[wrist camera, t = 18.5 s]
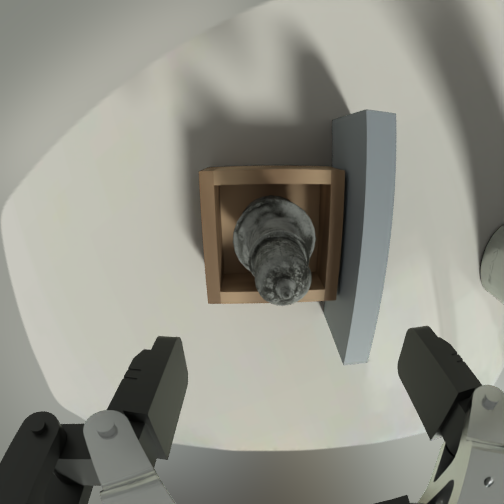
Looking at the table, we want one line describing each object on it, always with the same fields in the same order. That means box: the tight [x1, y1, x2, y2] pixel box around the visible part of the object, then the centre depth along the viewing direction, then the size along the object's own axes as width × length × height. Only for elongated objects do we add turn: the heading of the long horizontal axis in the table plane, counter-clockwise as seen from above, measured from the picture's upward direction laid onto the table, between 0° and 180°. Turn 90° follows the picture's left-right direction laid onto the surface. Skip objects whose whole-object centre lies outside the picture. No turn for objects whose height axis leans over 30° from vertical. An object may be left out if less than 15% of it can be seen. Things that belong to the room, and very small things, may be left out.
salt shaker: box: [233, 195, 316, 306], centre depth 19 cm, size 6×6×12 cm
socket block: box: [199, 166, 345, 304], centre depth 23 cm, size 10×10×4 cm
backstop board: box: [324, 110, 396, 365], centre depth 22 cm, size 2×18×8 cm, turn 1°
